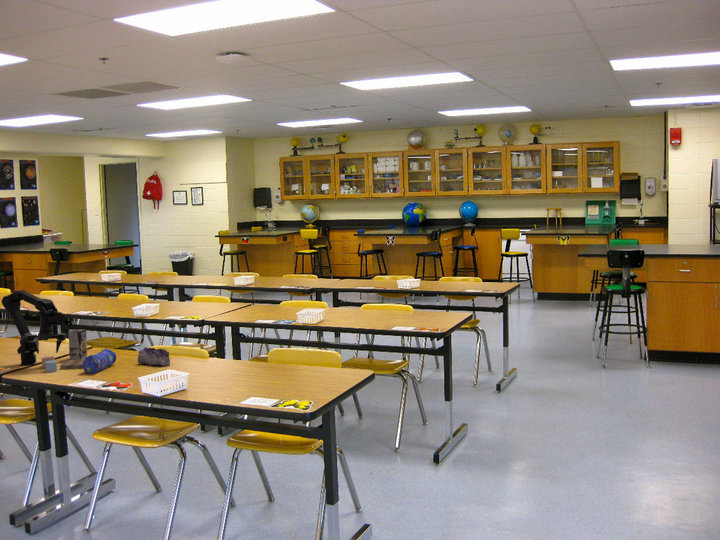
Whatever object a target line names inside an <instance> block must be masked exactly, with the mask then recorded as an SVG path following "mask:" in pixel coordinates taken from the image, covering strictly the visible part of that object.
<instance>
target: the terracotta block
mask: <svg viewBox="0 0 720 540" xmlns="http://www.w3.org/2000/svg"><path fill="white" fill-rule="evenodd" d="M53 360H55V356H54V355H51V356H50V355H48V356H45V355H44V356H43V357H41V368H45V369H46V361H53Z"/></svg>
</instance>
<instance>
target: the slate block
mask: <svg viewBox="0 0 720 540" xmlns="http://www.w3.org/2000/svg"><path fill="white" fill-rule="evenodd" d="M57 372H58V368H57V359H56V360H55V359H54V360H53V361H46V368H45V373H47V374H48V373H57Z"/></svg>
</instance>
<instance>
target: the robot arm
mask: <svg viewBox="0 0 720 540" xmlns="http://www.w3.org/2000/svg"><path fill="white" fill-rule="evenodd" d="M22 301H24V302H26V303H28V304H31V305H33V306H34V308H35V310H37V311H38V312H37V313H36V315H37V316H39V321H40V322H39V323H40V326H39V331H38V334H37V333H32V332H31V331H30V329H29V327H28V323H26V320H25V317H24V316H23V313H22V311H21V305H22V303H21V302H22ZM1 304H2V306H3V308H4V309H5V310H6V311H7V312H9V313H10V315H11V318H12V320H13V322H14V325H15V327H16V329H17V332H18V334H19V336H20V338H19V346H18V347H17V350H16V352H17V354H18V355H20V366H33V365H35V364H36V363H37V355H38V354H39V353H40V349H39V348H40V346H39V345H40V342H39V341H41V342H42V341H48V340H54V339H55V340H56V341H55V343H56V346H55V353H56V354H58V353H59V349H60V347H61V345H62V343H63V342H64V341H65V340H66V339H68V334H67V333H66V332H63V333H62V332H59V333H57V334H56V335H55V334H54V332H53V330H54V329H53V327H54V326H62V325H64V324H65V322H66V317H65V315H64V314H62V313H63V312H61V311H58V308H57V307H56V306H55V304H54V300H52V299H49V298H41V297H38V296H36V295H34V294H32V293H30V292H28V291H26V290H25V289H20V290H19V289H18V290H16V291H14V292H12V293H10V294H8V295H4V296H3V297H2V299H1ZM35 353H37V354H35Z"/></svg>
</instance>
